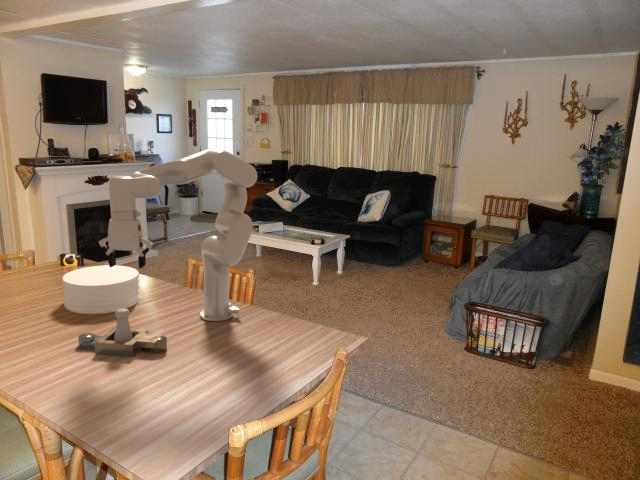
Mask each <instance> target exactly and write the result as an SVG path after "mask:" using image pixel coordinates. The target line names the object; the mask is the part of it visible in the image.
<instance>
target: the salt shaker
mask: <svg viewBox="0 0 640 480" xmlns="http://www.w3.org/2000/svg"><path fill="white" fill-rule="evenodd" d="M130 314H131V313H130V310H129V308H122V309H118V310H116V311H115V313H114V317H115V318H116V325H115V327H116V331H115V336H114V341H123V342H129V341H130V340H132V339H133V337H132V333H131V329H132V328H131V325H130V320H129V316H130Z"/></svg>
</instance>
